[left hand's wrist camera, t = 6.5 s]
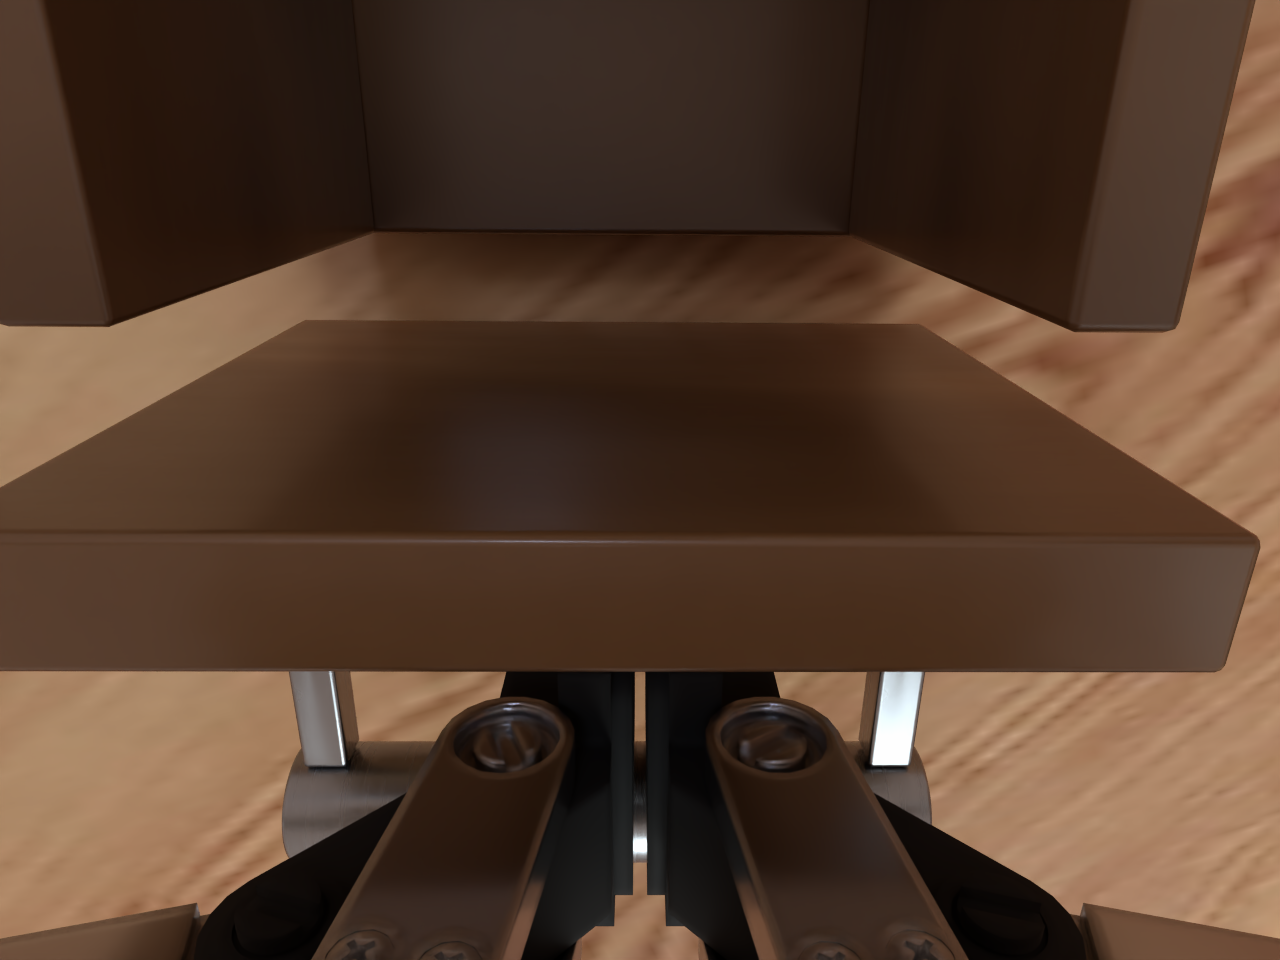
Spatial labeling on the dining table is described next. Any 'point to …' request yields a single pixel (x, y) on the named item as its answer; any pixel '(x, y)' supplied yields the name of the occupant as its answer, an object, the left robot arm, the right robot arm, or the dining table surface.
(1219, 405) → the dining table surface
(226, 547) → the drawer
